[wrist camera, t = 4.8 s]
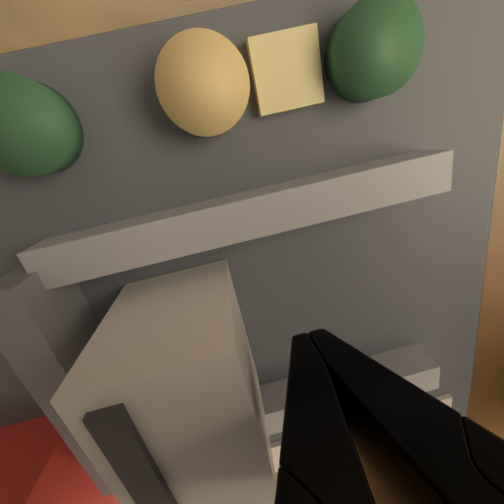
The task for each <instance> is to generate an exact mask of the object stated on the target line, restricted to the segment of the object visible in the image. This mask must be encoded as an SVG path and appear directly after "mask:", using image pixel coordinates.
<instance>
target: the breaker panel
mask: <svg viewBox="0 0 504 504" xmlns="http://www.w3.org/2000/svg"><path fill="white" fill-rule="evenodd" d="M503 116H504V0H258V1H254V2H249V3H244V4H239V5H234V6H230V7H225V8H220V9H215V10H211V11H206V12H201V13H196V14H191V15H187V16H182V17H177V18H172V19H167V20H163V21H158V22H153V23H148V24H143V25H139V26H134V27H129V28H124V29H119V30H115V31H110V32H105V33H100V34H95V35H91V36H86V37H81V38H76V39H71V40H67V41H62V42H57V43H52V44H47V45H43V46H38V47H33V48H28V49H23V50H19V51H14V52H9V53H4V54H0V428H1V427H5V426H9V425H12V424H16V423H20V422H24V421H27V420H31V419H35V418H39V417H43V416H47V418H48V419H49V421H50V422H51V423H52V425H53V426H54V428H55V429H56V430H57V432H58V433H59V435H60V436H61V437H62V439H63V440H64V442H65V443H66V445H67V446H68V447H69V449H70V450H71V452H72V453H73V454H74V456H75V457H76V459H77V460H78V461H79V463H80V464H81V466H82V467H83V468H84V470H85V471H86V473H87V474H88V475H89V477H90V478H91V480H92V481H93V482H94V484H95V485H96V487H97V488H98V489H99V491H100V492H101V494H102V495H103V496H104V497H105V496H109V495H112V492H111V491H110V489H109V488H108V486H107V485H106V483H105V482H104V480H103V479H102V477H101V476H100V475H99V473H98V472H97V470H96V469H95V467H94V466H93V464H92V463H91V461H90V460H89V459H88V457H87V456H86V454H85V453H84V451H83V450H82V448H81V447H80V445H79V444H78V443H77V441H76V440H75V438H74V437H73V435H72V434H71V432H70V431H69V429H68V428H67V426H66V425H65V424H64V422H63V421H62V419H61V418H60V416H59V415H58V413H57V412H56V410H55V409H54V408H53V406H52V405H51V403H50V400H51V399H52V397H53V396H54V394H55V392H56V391H57V389H58V388H59V386H60V385H61V383H62V382H63V380H64V379H65V377H66V375H67V374H68V372H69V371H70V369H71V368H72V366H73V365H74V363H75V362H76V360H77V358H78V357H79V355H80V354H81V352H82V351H83V349H84V348H85V346H86V345H87V343H88V341H89V340H90V338H91V337H92V335H93V334H94V332H95V331H96V329H97V328H98V326H99V324H100V323H101V321H102V320H103V318H104V317H105V315H106V314H107V312H108V311H109V309H110V307H111V306H112V304H113V303H114V301H115V300H116V298H117V297H118V295H119V294H120V292H121V290H122V289H123V287H124V286H125V284H127V283H131V282H135V281H140V280H144V279H148V278H152V277H156V276H160V275H164V274H168V273H172V272H176V271H180V270H184V269H188V268H192V267H196V266H200V265H204V264H208V263H212V262H216V261H220V260H224V259H226V260H227V264H228V267H229V271H230V275H231V278H232V282H233V286H234V289H235V293H236V297H237V301H238V304H239V308H240V312H241V315H242V319H243V323H244V326H245V330H246V334H247V337H248V341H249V345H250V348H251V352H252V356H253V359H254V363H255V367H256V371H257V376H258V381H259V387H260V392H261V397H262V402H263V408H264V413H265V418H266V423H267V429H268V434H269V439H270V444H271V450H272V455H273V460H274V465H275V471H276V473H277V472H278V468H279V467H280V466H279V458H280V448H281V439H282V429H283V419H284V409H285V399H286V389H287V380H288V370H289V360H290V350H291V340H292V336H294V335H297V334H301V333H307V334H308V333H309V331H313V330H316V329H320V328H323V329H326V330H327V331H329V332H330V333H332V334H334V335H335V336H337V337H338V338H340V339H342V340H343V341H345V342H346V343H348V344H350V345H351V346H353V347H355V348H356V349H358V350H359V351H361V352H363V353H364V354H366V355H367V356H369V357H371V358H372V359H374V360H375V361H377V362H379V363H380V364H382V365H384V366H385V367H387V368H388V369H390V370H392V371H393V372H395V373H396V374H398V375H400V376H401V377H403V378H404V379H406V380H408V381H409V382H411V383H413V384H414V385H416V386H417V387H419V388H421V389H422V390H424V391H425V392H427V393H429V394H430V395H432V396H433V397H435V398H437V399H438V400H440V401H442V402H443V403H445V404H446V405H448V406H450V407H451V408H453V409H454V410H456V411H458V412H459V413H460V414H461V416H462V417H463V416H466V417H467V414H468V405H469V397H470V389H471V381H472V372H473V364H474V356H475V347H476V339H477V331H478V323H479V314H480V306H481V298H482V290H483V281H484V273H485V265H486V257H487V248H488V240H489V232H490V223H491V215H492V207H493V199H494V190H495V182H496V174H497V166H498V157H499V149H500V141H501V133H502V124H503Z"/></svg>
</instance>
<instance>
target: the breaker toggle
mask: <svg viewBox="0 0 504 504" xmlns="http://www.w3.org/2000/svg"><path fill="white" fill-rule="evenodd" d="M50 403H51V405H52V406H53V408H54V409H55V410H56V412H57V413H58V415H59V416H60V418H61V419H62V421H63V422H64V424H65V425H66V426H67V428H68V429H69V431H70V432H71V434H72V435H73V437H74V438H75V440H76V441H77V443H78V444H79V445H80V447H81V448H82V450H83V451H84V453H85V454H86V456H87V457H88V459H89V460H90V461H91V463H92V464H93V466H94V467H95V469H96V470H97V472H98V473H99V475H100V476H101V477H102V479H103V480H104V482H105V483H106V485H107V486H108V488H109V489H110V491H111V492H112V494H113V495H114V496H115V498H116V499H117V501H118V502H119V504H274V501H275V494H276V485H277V476H276V471H275V465H274V460H273V455H272V450H271V444H270V439H269V434H268V429H267V423H266V418H265V413H264V408H263V402H262V397H261V392H260V387H259V381H258V376H257V371H256V367H255V363H254V359H253V356H252V352H251V348H250V345H249V341H248V337H247V334H246V330H245V326H244V323H243V319H242V315H241V312H240V308H239V304H238V301H237V297H236V293H235V289H234V286H233V282H232V278H231V275H230V271H229V267H228V264H227V260H226V259H224V260H220V261H216V262H212V263H208V264H204V265H200V266H196V267H192V268H188V269H184V270H180V271H176V272H172V273H168V274H164V275H160V276H156V277H152V278H148V279H144V280H140V281H135V282H131V283H127V284H125V286H124V287H123V289H122V290H121V292H120V294H119V295H118V297H117V298H116V300H115V301H114V303H113V304H112V306H111V307H110V309H109V311H108V312H107V314H106V315H105V317H104V318H103V320H102V321H101V323H100V324H99V326H98V328H97V329H96V331H95V332H94V334H93V335H92V337H91V338H90V340H89V341H88V343H87V345H86V346H85V348H84V349H83V351H82V352H81V354H80V355H79V357H78V358H77V360H76V362H75V363H74V365H73V366H72V368H71V369H70V371H69V372H68V374H67V375H66V377H65V379H64V380H63V382H62V383H61V385H60V386H59V388H58V389H57V391H56V392H55V394H54V396H53V397H52V399H51V400H50Z"/></svg>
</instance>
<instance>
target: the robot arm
mask: <svg viewBox="0 0 504 504" xmlns="http://www.w3.org/2000/svg"><path fill="white" fill-rule="evenodd" d="M279 466H280V467H279V468H278V475H277V485H276V494H275V501H274V504H375V503H376V504H504V439H502V438H500V437H499V436H497V435H495V434H494V433H492V432H490V431H489V430H487V429H485V428H484V427H482V426H481V425H479V424H477V423H476V422H474V421H472V420H471V419H469V418H468V417H466V416H463V417H462V416H461V414H460V413H459V412H458V411H456V410H454V409H453V408H451V407H450V406H448V405H446V404H445V403H443V402H442V401H440V400H438V399H437V398H435V397H433V396H432V395H430V394H429V393H427V392H425V391H424V390H422V389H421V388H419V387H417V386H416V385H414V384H413V383H411V382H409V381H408V380H406V379H404V378H403V377H401V376H400V375H398V374H396V373H395V372H393V371H392V370H390V369H388V368H387V367H385V366H384V365H382V364H380V363H379V362H377V361H375V360H374V359H372V358H371V357H369V356H367V355H366V354H364V353H363V352H361V351H359V350H358V349H356V348H355V347H353V346H351V345H350V344H348V343H346V342H345V341H343V340H342V339H340V338H338V337H337V336H335V335H334V334H332V333H330V332H329V331H327V330H326V329H323V328H320V329H316V330H313V331H309V333H308V334H307V333H301V334H297V335H294V336H292V340H291V350H290V360H289V370H288V380H287V389H286V399H285V409H284V419H283V429H282V439H281V448H280V458H279Z"/></svg>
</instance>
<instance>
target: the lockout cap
mask: <svg viewBox="0 0 504 504" xmlns="http://www.w3.org/2000/svg"><path fill="white" fill-rule="evenodd" d="M0 504H119V502H118V501H117V499H116V498H115V496H114V495H113V494H112V495H109V496H105V497H104V496H103V495H102V494H101V492H100V491H99V489H98V488H97V487H96V485H95V484H94V482H93V481H92V480H91V478H90V477H89V475H88V474H87V473H86V471H85V470H84V468H83V467H82V466H81V464H80V463H79V461H78V460H77V459H76V457H75V456H74V454H73V453H72V452H71V450H70V449H69V447H68V446H67V445H66V443H65V442H64V440H63V439H62V437H61V436H60V435H59V433H58V432H57V430H56V429H55V428H54V426H53V425H52V423H51V422H50V421H49V419H48V418H47V416H43V417H39V418H35V419H31V420H27V421H24V422H20V423H16V424H12V425H9V426H5V427H1V428H0Z"/></svg>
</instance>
